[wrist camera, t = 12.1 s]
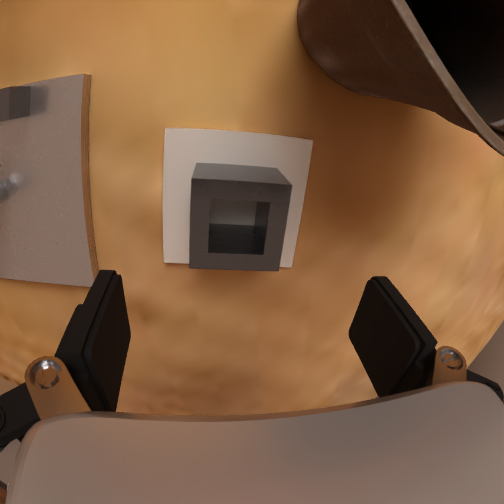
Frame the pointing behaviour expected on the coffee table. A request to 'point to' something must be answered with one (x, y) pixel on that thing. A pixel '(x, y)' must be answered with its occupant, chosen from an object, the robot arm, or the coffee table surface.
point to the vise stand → (46, 183)
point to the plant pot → (416, 55)
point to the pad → (237, 153)
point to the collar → (238, 236)
